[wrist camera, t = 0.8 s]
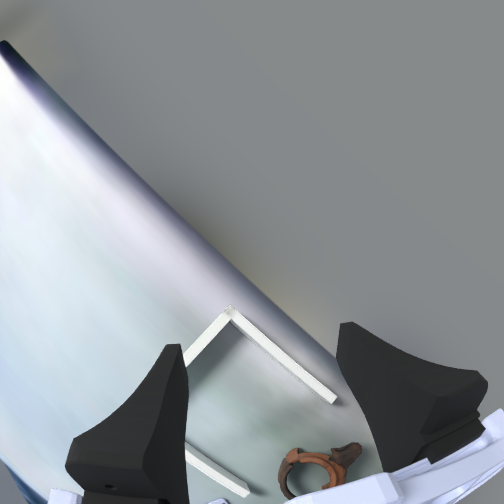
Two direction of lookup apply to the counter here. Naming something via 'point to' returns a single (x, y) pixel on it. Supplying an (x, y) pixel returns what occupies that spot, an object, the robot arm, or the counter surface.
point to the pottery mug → (335, 469)
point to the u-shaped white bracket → (273, 352)
